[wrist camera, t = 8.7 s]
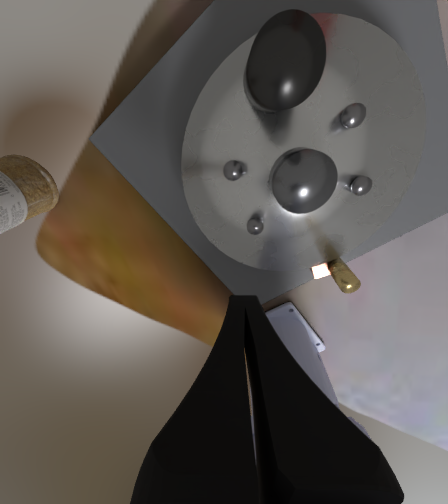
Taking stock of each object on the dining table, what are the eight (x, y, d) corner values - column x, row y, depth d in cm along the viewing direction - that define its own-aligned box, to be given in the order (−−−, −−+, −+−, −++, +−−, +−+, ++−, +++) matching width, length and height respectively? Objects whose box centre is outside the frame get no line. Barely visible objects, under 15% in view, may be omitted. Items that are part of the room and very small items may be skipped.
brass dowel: (339, 258, 19) (363, 287, 16) (324, 265, 20) (344, 296, 16) (333, 247, 19) (356, 275, 15) (318, 255, 19) (337, 284, 16)
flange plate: (437, 202, 16) (512, 230, 12) (267, 294, 21) (278, 338, 17) (353, -69, 10) (449, -215, 6) (139, 154, 15) (104, 167, 11)
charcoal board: (457, 197, 17) (469, 201, 16) (248, 303, 24) (248, 310, 23) (386, -177, 9) (402, -208, 8) (96, 137, 16) (88, 138, 15)
